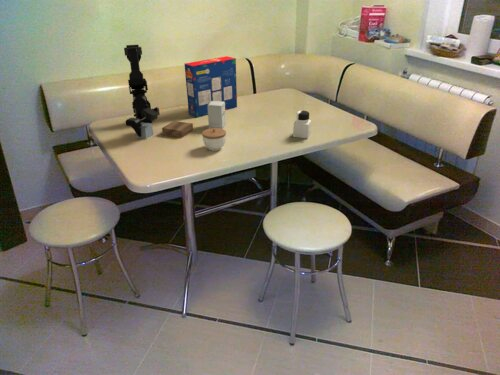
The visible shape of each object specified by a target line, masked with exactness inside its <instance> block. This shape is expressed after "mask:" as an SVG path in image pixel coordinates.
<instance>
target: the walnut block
mask: <svg viewBox="0 0 500 375" xmlns="http://www.w3.org/2000/svg"><path fill="white" fill-rule="evenodd" d="M193 131H194V124H193V122H192V123H191V122H185V121H178V120H173V121H171V122H170V123H168V124H167V125H165V126H163V127H161V132H162V135H163V136H168V137H174V138H181V139H182V138H184V137H186V136H187V135H189V134H190V133H191V132H193Z"/></svg>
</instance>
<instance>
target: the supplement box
mask: <svg viewBox="0 0 500 375" xmlns="http://www.w3.org/2000/svg"><path fill="white" fill-rule="evenodd" d="M207 117H208V118H207V119H208V129H211V128H220V129H223V130H224V127H225V126H226V110H225V102H222V101H211V102H210V103H209V104H208V115H207Z"/></svg>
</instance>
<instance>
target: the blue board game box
mask: <svg viewBox="0 0 500 375" xmlns="http://www.w3.org/2000/svg"><path fill="white" fill-rule="evenodd" d="M236 60H237V58H235V57H232V56H229V55H226V56H221V57H215V58H210V59H209V58H208V59H203V60H198V61H191V62H186V63H185V62H184V74H185V86H186V98H187V107H188V110H187V111H188V115H190V116H192V117H194V118H196V119H197V118H201V117H206V116H208V104H209V103H210V102H211V101H222V102H225V111H228V110H232V109H236V108H238V95H237V94H238V93H237V92H238V91H237V90H238V89H237V88H238V87H237V86H238V85H237V61H236Z"/></svg>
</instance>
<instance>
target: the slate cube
mask: <svg viewBox="0 0 500 375" xmlns="http://www.w3.org/2000/svg"><path fill="white" fill-rule="evenodd" d="M141 124H142V126H141V137H139V136H138V135H137V134H136V132H135V131H134V132H135V133H134V134H135V138H137V139H144V140H148V139H149V138H151V137H153V136H154V129H153V122H152V123H145V122H141Z"/></svg>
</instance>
